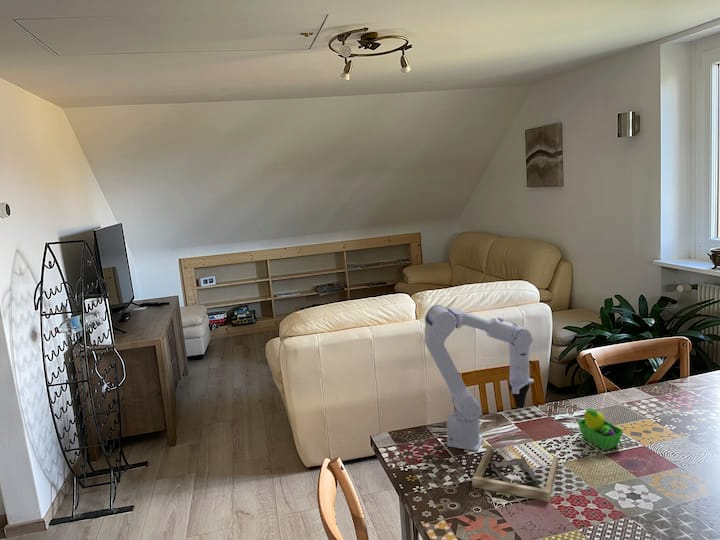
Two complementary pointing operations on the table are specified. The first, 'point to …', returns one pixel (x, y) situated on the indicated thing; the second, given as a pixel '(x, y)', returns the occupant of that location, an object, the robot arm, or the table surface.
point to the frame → (511, 487)
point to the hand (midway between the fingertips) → (520, 407)
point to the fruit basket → (599, 430)
